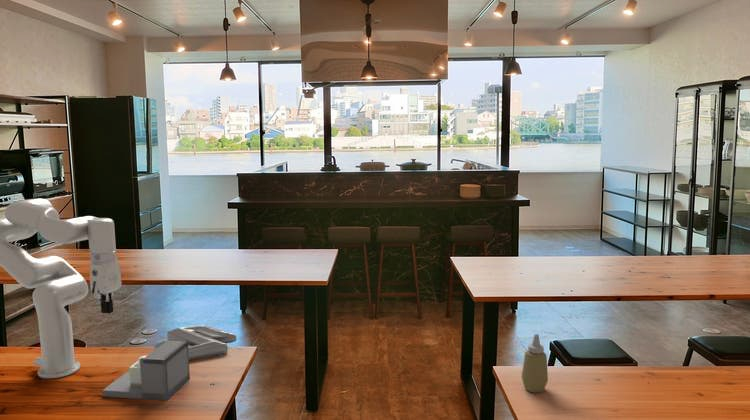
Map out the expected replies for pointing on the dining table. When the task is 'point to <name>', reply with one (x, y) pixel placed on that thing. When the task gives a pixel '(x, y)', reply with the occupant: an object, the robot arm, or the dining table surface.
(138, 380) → the egg tray
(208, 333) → the emblem
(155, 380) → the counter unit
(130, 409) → the dining table surface
